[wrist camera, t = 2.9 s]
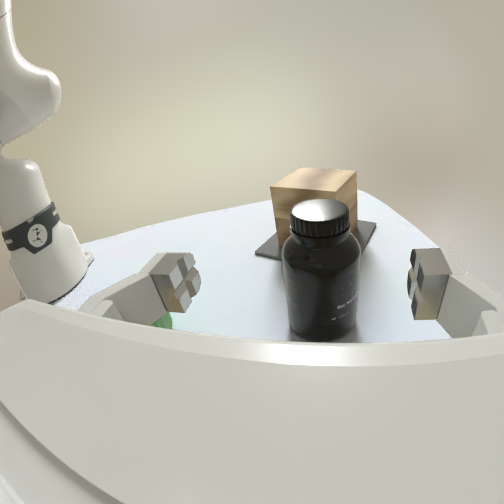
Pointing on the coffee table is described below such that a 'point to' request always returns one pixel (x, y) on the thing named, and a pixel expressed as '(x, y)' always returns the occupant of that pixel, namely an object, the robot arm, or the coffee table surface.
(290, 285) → the supplement bottle
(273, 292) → the coffee table surface
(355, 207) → the tower base
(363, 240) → the mat
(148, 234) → the coffee table surface
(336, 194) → the tower top
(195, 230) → the coffee table surface
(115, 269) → the coffee table surface
